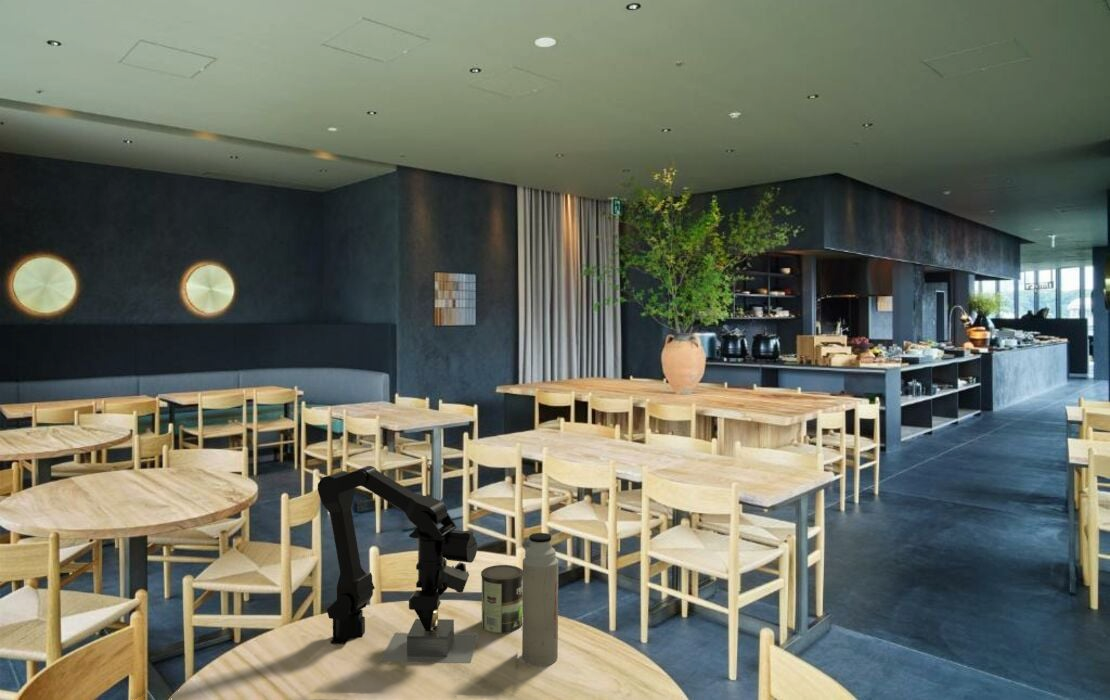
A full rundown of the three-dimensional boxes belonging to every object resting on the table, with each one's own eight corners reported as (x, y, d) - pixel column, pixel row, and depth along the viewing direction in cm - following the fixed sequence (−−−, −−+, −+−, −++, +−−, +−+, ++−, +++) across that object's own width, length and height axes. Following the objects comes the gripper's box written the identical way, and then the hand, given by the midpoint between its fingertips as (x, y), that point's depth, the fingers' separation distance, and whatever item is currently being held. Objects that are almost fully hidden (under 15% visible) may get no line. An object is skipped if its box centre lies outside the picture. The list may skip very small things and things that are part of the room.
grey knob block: (407, 656, 159) (406, 636, 159) (415, 638, 168) (415, 618, 168) (447, 657, 159) (447, 636, 159) (453, 638, 168) (453, 619, 168)
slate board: (379, 665, 157) (379, 661, 157) (395, 637, 171) (395, 632, 171) (470, 667, 157) (470, 662, 157) (478, 638, 171) (478, 634, 171)
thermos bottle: (560, 651, 164) (561, 531, 163) (553, 668, 157) (554, 542, 155) (526, 647, 166) (527, 528, 165) (518, 664, 158) (518, 539, 157)
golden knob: (421, 650, 162) (421, 614, 162) (424, 642, 166) (424, 607, 165) (437, 650, 162) (437, 614, 161) (440, 642, 166) (440, 607, 165)
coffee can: (524, 619, 182) (524, 564, 181) (521, 637, 171) (521, 579, 171) (483, 618, 182) (483, 564, 181) (478, 637, 171) (478, 579, 171)
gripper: (459, 572, 153) (459, 644, 154) (471, 544, 172) (471, 608, 173) (408, 571, 153) (408, 643, 154) (425, 543, 172) (425, 607, 173)
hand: (430, 624), depth 163 cm, fingers open, 6 cm apart
